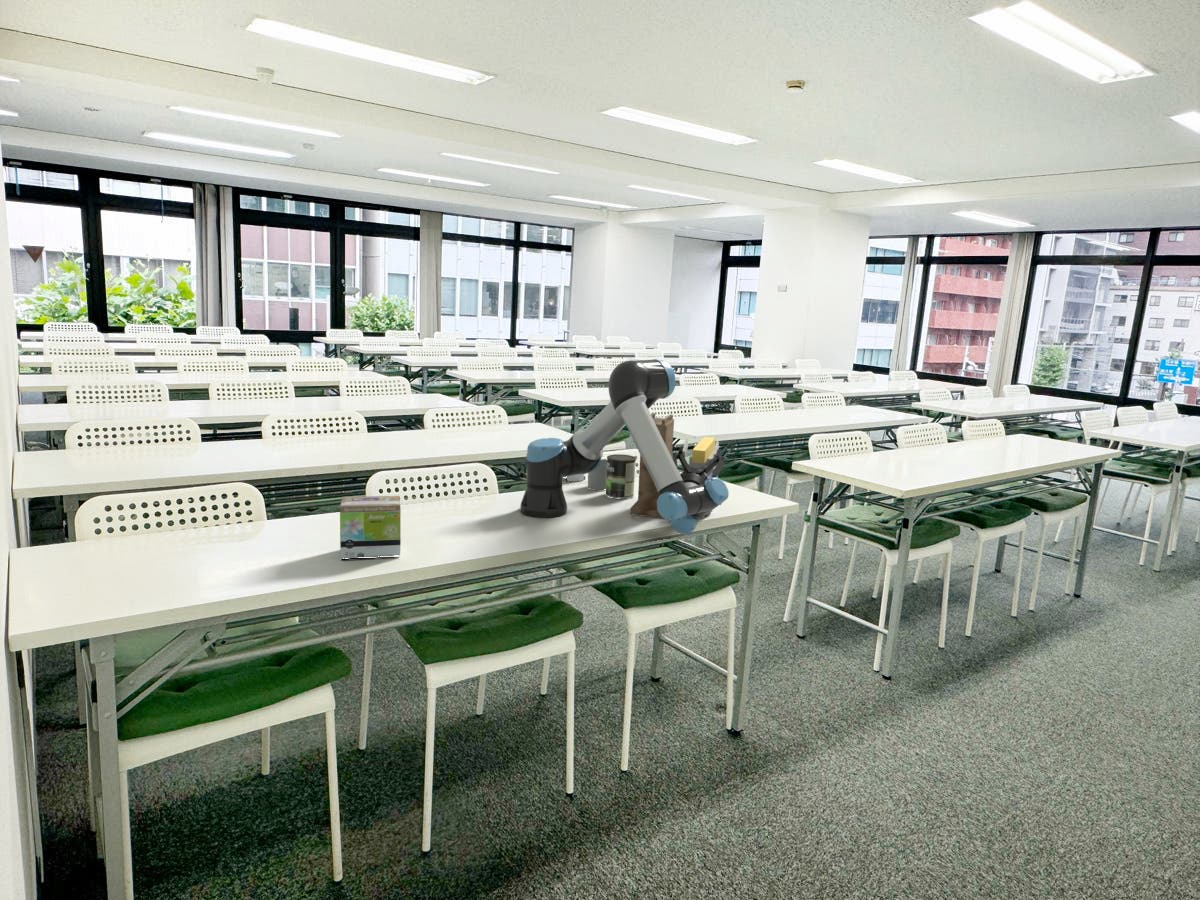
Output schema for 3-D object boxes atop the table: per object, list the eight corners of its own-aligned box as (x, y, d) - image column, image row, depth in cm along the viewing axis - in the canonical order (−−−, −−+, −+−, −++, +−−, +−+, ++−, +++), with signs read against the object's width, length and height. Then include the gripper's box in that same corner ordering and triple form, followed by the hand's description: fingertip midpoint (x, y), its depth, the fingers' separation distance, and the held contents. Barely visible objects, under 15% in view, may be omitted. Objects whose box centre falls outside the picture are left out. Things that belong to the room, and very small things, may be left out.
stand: (629, 514, 243) (634, 418, 236) (641, 500, 260) (646, 411, 253) (666, 518, 239) (671, 421, 233) (675, 504, 256) (681, 414, 250)
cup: (611, 485, 279) (612, 459, 278) (609, 491, 271) (610, 464, 270) (589, 484, 280) (589, 458, 278) (586, 489, 272) (587, 463, 270)
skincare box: (584, 480, 286) (585, 454, 284) (569, 482, 283) (569, 455, 281) (573, 474, 295) (574, 449, 293) (558, 476, 292) (559, 449, 290)
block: (691, 462, 235) (692, 449, 234) (703, 448, 260) (704, 436, 259) (704, 463, 234) (705, 451, 233) (714, 449, 258) (715, 437, 258)
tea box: (340, 562, 189) (338, 505, 186) (342, 549, 199) (340, 495, 196) (401, 558, 194) (400, 503, 191) (400, 546, 203) (399, 493, 200)
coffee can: (610, 500, 259) (612, 460, 257) (601, 492, 269) (603, 454, 266) (638, 498, 262) (640, 459, 260) (628, 491, 272) (630, 453, 269)
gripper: (655, 495, 229) (669, 448, 245) (727, 503, 223) (736, 454, 239) (654, 477, 224) (668, 431, 240) (727, 484, 218) (736, 436, 235)
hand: (702, 442), depth 240 cm, fingers open, 9 cm apart
